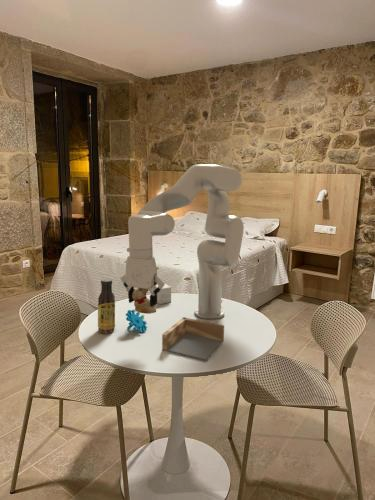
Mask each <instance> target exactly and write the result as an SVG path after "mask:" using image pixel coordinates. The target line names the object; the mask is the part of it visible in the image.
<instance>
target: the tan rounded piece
mask: <svg viewBox="0 0 375 500" xmlns="http://www.w3.org/2000/svg"><path fill="white" fill-rule="evenodd" d="M148 292H149V289H143V288H137V289H135V290H134V292H133V293H132V298H133V299H134V301H133V305H134V307H135V308H134V310H135V312H136V313H137V312H139V313H140V314H146V315H148V314H155V313H157V308H156V307H155V306H156V305H154V306H153V307H151V306H150V298H148V297H147V293H148Z"/></svg>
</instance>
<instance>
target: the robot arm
mask: <svg viewBox="0 0 375 500" xmlns="http://www.w3.org/2000/svg"><path fill="white" fill-rule="evenodd" d="M242 181H243V179H242V175H241V173H240V171H239V170H238V169H236V168H233V167H228V166H224V165H223V166H222V165H219V164H209V163H208V164H207V163H206V164H201V163H200V164H197V163H196V164H194V165H192V166H191V165H190V167H189V168H187V170H186V171H185V172H184V173H183V175H182V176H181V177H180V178H179V179H178V180H177V181H176V183H174V185H173V186H171V188H169V189H167V190H164V191H163V192H161V193H159V194H158V195H155V196H153V197H152V198H151V199H149V200H148V201H147V202H146V203H145V204H144V205H143V206H142V207H141V209H140V210H139V211H138V213H137V214H132V215H130V216H129V218H128V222H127V226H128V247H127V248H126V251H127V253H128V254H129V255H127V258H126V264H125V274H124V275H122V276H121V277H120V280H121V283H122V284H123V286H124V287H125V288H126V289H125V290H126V291H127V294H128V296H127V297H128V303H129V304H131V303H134V302H135V301H134V299H133V298H132V293H133V292H134V290H136V289H135V288H137V289H138V288H143V289H149V290H148V292H149V293H150V295H149V299H150V306H151V307H153V306H156V305H157V304H158V303H157V293H158V292H159V291H160V290H161V289H162V288H163V286H164V285H165V284H166V283H165V282H163V281H162V280H161V279H160V278H159V277H158V272H157V271H158V270H157V263H156V258H155V257H154V253H153V237H154V236H156V237H157V236H167V235H169V234H171V233H172V232H173V231H174V229H175V224H176V223H175V219H174V217H173V216H172V215H170V214H169V213H167V212H170V211H172V210H177V209H180V208H181V209H182V208H184V207H186V206H189V205H191V203H192V201H194V200H195V198H196V197H197V195H198V194H200V192H201V191H202V190H203V189H204V190H205V192H206V194H207V197H208V205H207V206H208V207H207V211H206V212H207V213H206V220H205V226H204V229H205V230H204V231H205V233H206V235H207V236H209V237H213V238H218V239H224V241H221V240H215V239H205V240H202V241H201V242H199V244H198V245H197V250H196V255H197V256H196V257H197V259H198V272H199V273H198V307H196V308H195V309H194V315H195V316H196V317H197V318H201V319H205V320H217V319H218V320H219V319H221V318H223V317H224V316H225V313H226V312H225V310H224V309H223V308H222V303H223V299H222V289H223V272H222V268H221V267H223V268H233V267H235V266H236V264H237V263H238V261H239V258H240V253H241V247H242V243H243V242H242V241H243V239H244V238H243V237H244V223H243V220H242V219H241V217H239V216H237V215H230V214H229V213H230V206H231V203H230V202H231V201H230V197H229V195H228V194H227V192H235V191H238V190H239V188H240V187H241V185H242ZM155 285H158V287H156V286H155Z"/></svg>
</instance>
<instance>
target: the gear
mask: <svg viewBox="0 0 375 500" xmlns="http://www.w3.org/2000/svg"><path fill="white" fill-rule="evenodd" d="M125 316H126V318H125V320H126V321H128V326H127V330H131V328H133V330H134V331H137V332H138V333H145V332H147V331H146V330H147V328H148V326H147V321H146V320H145V315H144V314H142V315H141V313H139V312H137V311H135V309H132V310H131V309H128V310H127V312H126V313H125Z"/></svg>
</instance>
